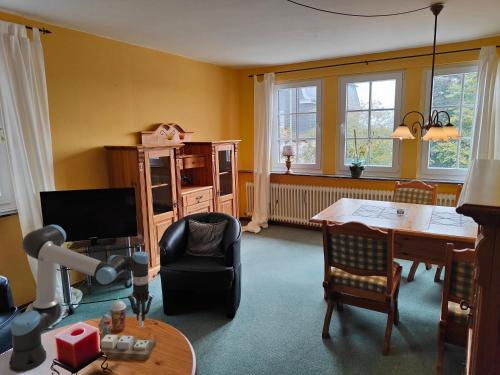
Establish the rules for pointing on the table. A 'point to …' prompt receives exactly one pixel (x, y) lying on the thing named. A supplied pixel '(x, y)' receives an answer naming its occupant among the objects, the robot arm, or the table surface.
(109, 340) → the die
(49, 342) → the table surface
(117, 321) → the smoothie
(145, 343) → the die
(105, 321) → the figurine
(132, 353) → the board
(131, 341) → the die
